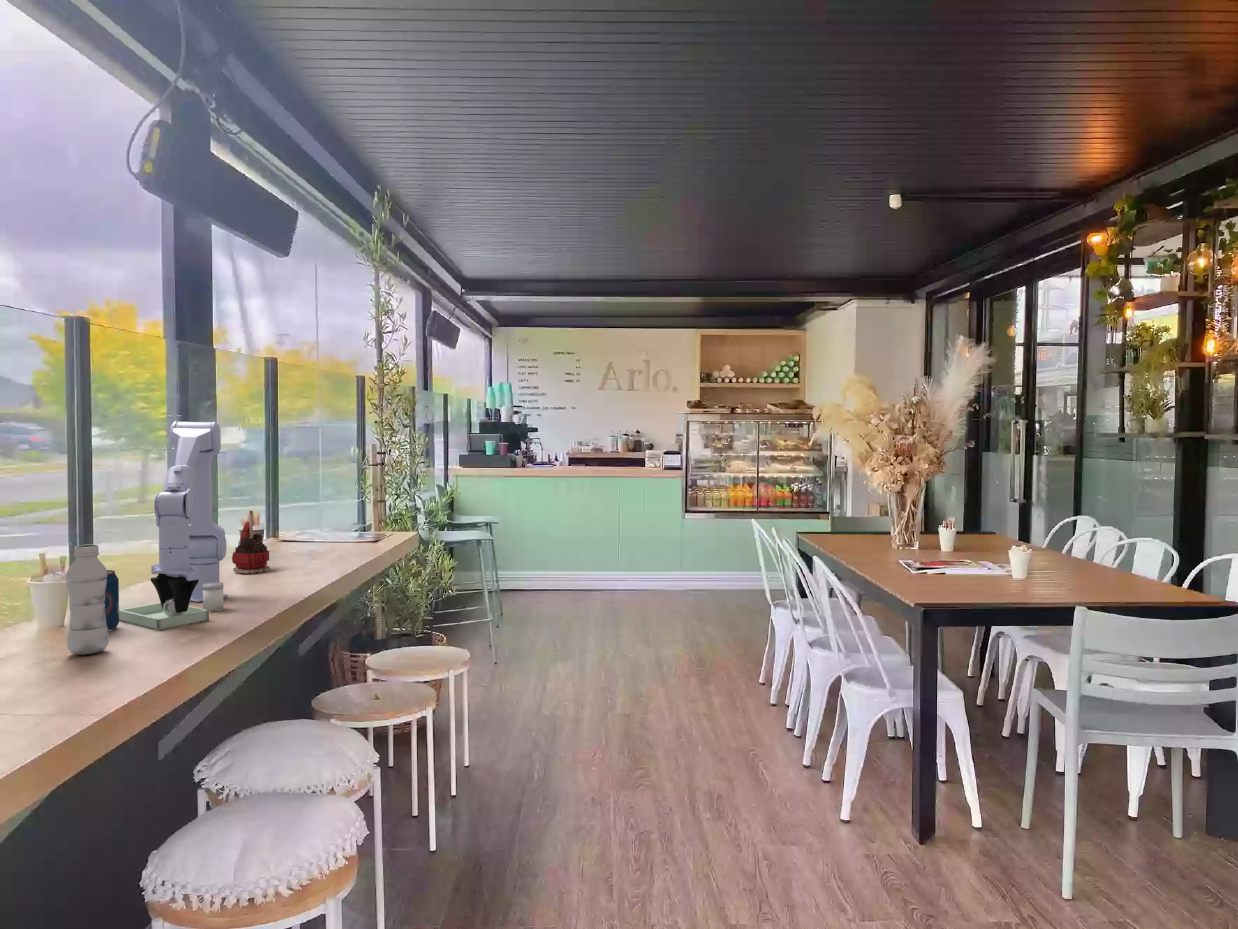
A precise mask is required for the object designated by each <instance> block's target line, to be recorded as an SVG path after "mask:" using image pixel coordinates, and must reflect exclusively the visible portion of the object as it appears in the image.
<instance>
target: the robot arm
mask: <svg viewBox="0 0 1238 929" xmlns="http://www.w3.org/2000/svg"><path fill="white" fill-rule="evenodd" d="M221 433H222V432H221V427H220V425H219V422H217V421H211V422H210V421H206V422H205V421H178V420H175V421H174V422H173V423H172V424H171V425H170V432H169V438H170V442H171V445H172V447H173V449H174V450H176V455H175V462H174V465H173V466H171V467H170V468H169V469H168V470H167V472H166V476H165V479H164V483H163V486H162V490H161V492H159V494H158V493H157V494H156V496H155V497H154V502H153V503H154V504H153V505H154V506H153V507H154V515H155V519H156V520H155V521H156V522H155V524H156V527H158V564H151V565H150V566H151V567H150V568H151V575H156V576H155V577H150V582H151V583H152V584H153V587H154V588H155V590H156V592H157V595H158V598H159V603H161V606H162V609H163V605H164V603H165V601H166V600H167V599H169V598H171V597H174V606H175V611H176V613H180V612H186V611H187V610H188V606H190V602H194V603H195V602H196V603H199V602H203V584H205V583H213V582H220V562H221V561H223V560H224V559H225V558H226V554H227V539H226V532H225V529H224V528H223V527H222V526H221V525H219V524H217V523H215V522H214V521H213V487H212V486H213V484H212V481H213V478H212V469H213V468H212V463H213V462H212V461H213V458H214V456H217V455H219V454H221V450H222V447H221V446H222V444H221V440H222V439H221ZM190 522H191V523H190ZM227 597H228V594H225V593H223V598H227Z"/></svg>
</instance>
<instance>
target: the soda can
mask: <svg viewBox="0 0 1238 929" xmlns="http://www.w3.org/2000/svg"><path fill="white" fill-rule="evenodd" d="M106 570H107V573H108V574H107V583H106V590H105V601H104V603H105V616H106V626H107V628H108V631H109V630H112V631H114V630H115V629H116V628H117V627H118V625H119V623H120V621H119V610H120V596H119V595H120V593H119V592H120V586H119V585H120V583H119V577H118V576H117V574H116V571H115V570H114V569H113V570H112V569H106ZM109 632H110V631H109Z"/></svg>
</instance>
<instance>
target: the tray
mask: <svg viewBox="0 0 1238 929" xmlns="http://www.w3.org/2000/svg"><path fill="white" fill-rule="evenodd" d="M123 621H124V623H128V624H131V623H133V624H132V625H135V624H136V625H135V626H139V625H141V626H140V627H142V628H143V627H144V628H147V629H151V628H152V629H151V630H156V631H161V630H166V629H165V628H167V629H171V628H172V629H173V628H176V627H177V628H178V627H181V625H182V626H187V625H191V624H190V623H192V624H196V623H201V622H200V621H202V622H207V621H210V612H209V610H206V609H203V608H201V607H196V606H190V605H189V606H188V610H187V611H186V612H185V614H182V615H177V616H172V617H168V616H166V615H165V613H164V611H163V609H162V606H161V602H157V603H151V604H145V605H139V606H132V607H128V608H121V609H119V622H123Z"/></svg>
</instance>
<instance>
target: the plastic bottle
mask: <svg viewBox="0 0 1238 929" xmlns="http://www.w3.org/2000/svg"><path fill="white" fill-rule="evenodd" d="M99 549H100V548H99V544H81V545H80V544H79V545H75V546H74V553H73V557H74V558H75V560H74V561H73V562H72V563H71V564H70V566H69V568H68V569H67V571H66V574H65V577H64V578H65V583H66V588H67V593H68V598H69V599H68V603H69V604H68V605H70V606H69V623H68V624H69V625H68V632H67V636H66V646H67V650H68V652H70V653H71V654H73V655H82V656H83V655H85V656H87V655H86V654H88V655H93V654H96V653H100V652H102V651H105V650H106V649H107V648H108V646H109V641H110V631H109V632H108V628H107V626H106V616H105V603H104V601H105V590H106V583H107V574H108V573H107V570H108V569H107V567H106V566H105V564H103V562H101V561H100V559H99V557H98V556H100V552H99Z"/></svg>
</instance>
